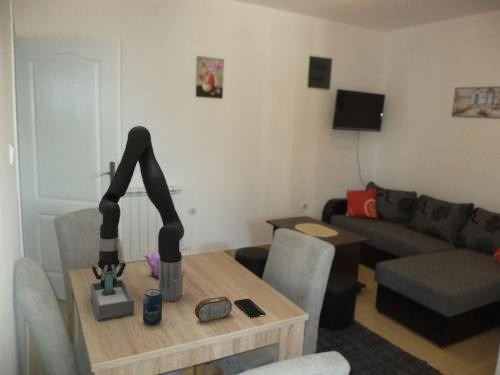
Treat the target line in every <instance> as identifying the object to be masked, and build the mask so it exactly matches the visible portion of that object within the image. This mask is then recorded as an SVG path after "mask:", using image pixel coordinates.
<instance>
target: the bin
mask: <svg viewBox="0 0 500 375" xmlns="http://www.w3.org/2000/svg"><path fill="white" fill-rule="evenodd" d="M100 282H101V281H100ZM100 282H93V283H90V298H91V299H90V300H91V302H92V306H93V309H94V314H95V316H96V319H97V321H98V322H102V321H109V320H112V319H113V320H114V319H119V318H122V317H123V318H125V317H130V316H134V315H135V314H134V311H135V307H134V306H135V303H134V302H135V300H134V298H133V296H132V294H131V292H130V290H129V289H128V287H127V285H126V283H125V281H124V279H117V285H115V287H113V292H111V293H104V288H102V287H101V285H100Z"/></svg>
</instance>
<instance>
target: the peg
mask: <svg viewBox="0 0 500 375" xmlns="http://www.w3.org/2000/svg"><path fill="white" fill-rule="evenodd" d="M104 280H105V288H104V293H111V292H113V273H112V272H106V275H105V277H104Z"/></svg>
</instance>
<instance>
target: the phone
mask: <svg viewBox="0 0 500 375" xmlns="http://www.w3.org/2000/svg"><path fill="white" fill-rule="evenodd" d="M233 304H234V305H235V306H236V307H237V308H238V309H239V310H240V311H241V312H242V311H243V312H244V313H245V314H246V315H247V316H248V317H250V318H249V319H252V318H251V317H256V318H257V317H258V316H260V315H265V316H266V312H265V311H264V310H263V309H262V308H260V306H258V305H257V304H256V302H254V301H253V300H252V299H251V298H242V299H236V300H234V301H233ZM243 312H242V313H243ZM244 313H243V314H244ZM245 314H244V315H245ZM246 315H245V316H246ZM247 316H246V317H247ZM248 317H247V318H248Z"/></svg>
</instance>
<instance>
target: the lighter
mask: <svg viewBox="0 0 500 375" xmlns="http://www.w3.org/2000/svg"><path fill="white" fill-rule="evenodd" d="M118 259H119V261H120V262H124V259H123V258H122V257H119V258H118ZM119 265H120V264H119ZM119 265H118V266H117V267H116V269H115V271H116V273H118V268H120V266H119ZM109 272H110V271H109Z"/></svg>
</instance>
